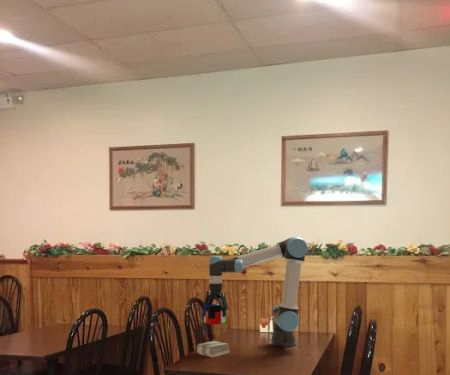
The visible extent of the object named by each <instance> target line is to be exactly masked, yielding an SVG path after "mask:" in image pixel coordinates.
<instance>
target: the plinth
mask: <svg viewBox="0 0 450 375" xmlns="http://www.w3.org/2000/svg"><path fill="white" fill-rule="evenodd" d="M230 351H231V350H230V345H229V343H225V342H222V341H217V340H211V341H207V342H202V343H198V344H197V346H196V353H198V354H197V355H201V356H205V357H210V358H215V357H219V356H223V355H227V354H230V353H231V352H230Z"/></svg>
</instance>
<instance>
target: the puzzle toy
mask: <svg viewBox="0 0 450 375" xmlns="http://www.w3.org/2000/svg"><path fill="white" fill-rule="evenodd" d="M203 305H204V306H203V323H205V324H207V325H210V326H212V325H213V326H214V325H227V316H226V317H225V322H224V323H221V310H222V309H221V307H220V305H219V303H212V304H204V303H203ZM223 309H224V308H223Z"/></svg>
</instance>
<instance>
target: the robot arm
mask: <svg viewBox="0 0 450 375" xmlns="http://www.w3.org/2000/svg"><path fill="white" fill-rule="evenodd" d="M308 251H309V249H308V244H307V241H305V239H303V238H301V237H298V236H295V237H289V238H286V239H285V240H282V241H279V242H277V243H276V244H274V245H272V246H269V247H265V248H261V249H258V250H255V251H251V252H248V253H244V254H242V255H238V256H234V257H232V258H226V259H223V256H219V255H216V256H214V255H213V256H210V257H209V264H208V270H209V271H208V272H209V277H208V279H209V280H208V281H209V284H208V285H209V286H208V287H209V288H208V290H207V291H206V296H205V299H204V302H203V307H204V304H213V302H214V301H217V304H219V305H220V307H221V309H222V310H221V323H224V322H225V317H226V318H227V311H228V310H230V309H229V305H228V301H227V298H226V292H222V290H223V273H225V274H226V273H231V274H232V273H235V274H238V273H242V272H243V269H244V268H247V267H250V266H254V265H257V264H261V263H263V262H268V261H271V260H273V259H278V258H280V259H283V258H284V261H285V262H286V266H285V273H284V274H285V275H284V283H283V292H282V296H281V297H282V298H281V303H279V305H273V306H272V327H273V328H272V330H273V331H272V335H271V339H270V345H271V346H275V347H282V348H283V347H287V348H288V347H293V346H296V345H297V340H296V337H295V334H294V331H295V330H296V329H297V328H298V327H299V324H300V317H299V307H298V305H297V303H298V302H297V301H298V295H299V286H300V279H301V278H300V276H301V270H302V269H301V268H302V264H304V263H305V259H306V254H307V253H308ZM223 308H224V309H223Z"/></svg>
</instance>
